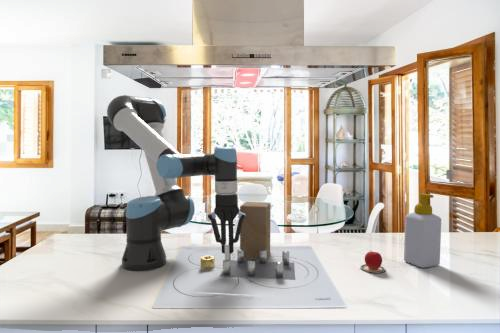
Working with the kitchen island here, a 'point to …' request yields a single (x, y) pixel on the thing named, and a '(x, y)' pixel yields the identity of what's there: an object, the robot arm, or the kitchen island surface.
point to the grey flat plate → (260, 270)
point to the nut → (207, 262)
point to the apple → (373, 262)
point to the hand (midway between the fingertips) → (227, 262)
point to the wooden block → (255, 229)
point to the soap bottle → (422, 235)
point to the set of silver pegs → (252, 263)
